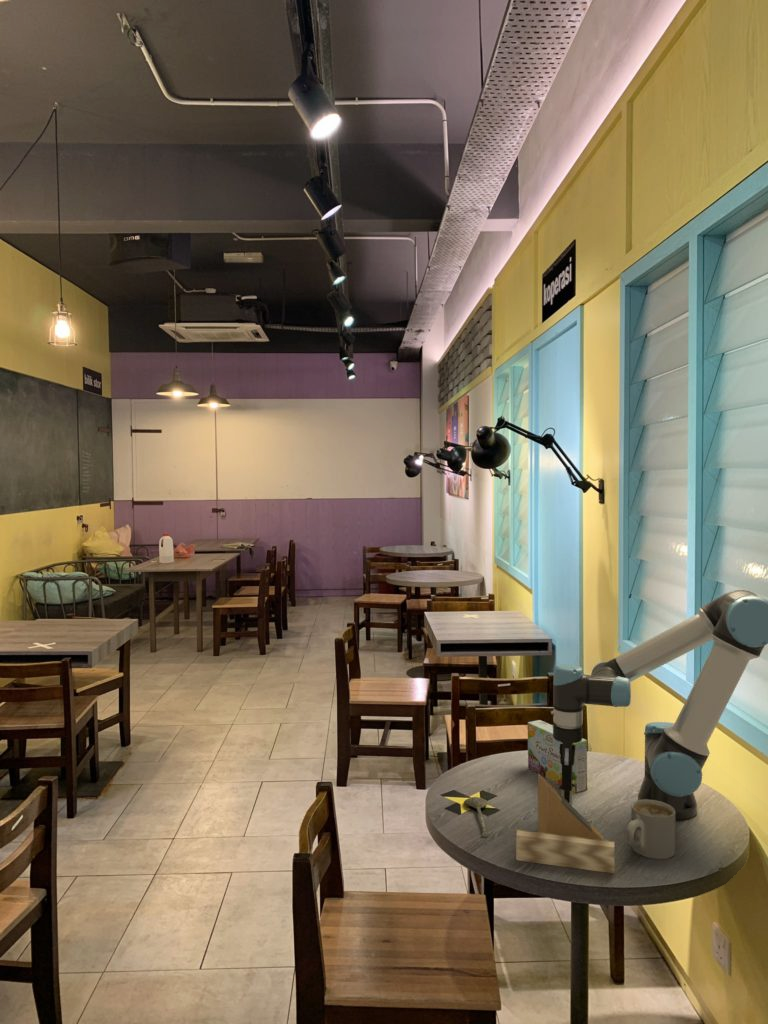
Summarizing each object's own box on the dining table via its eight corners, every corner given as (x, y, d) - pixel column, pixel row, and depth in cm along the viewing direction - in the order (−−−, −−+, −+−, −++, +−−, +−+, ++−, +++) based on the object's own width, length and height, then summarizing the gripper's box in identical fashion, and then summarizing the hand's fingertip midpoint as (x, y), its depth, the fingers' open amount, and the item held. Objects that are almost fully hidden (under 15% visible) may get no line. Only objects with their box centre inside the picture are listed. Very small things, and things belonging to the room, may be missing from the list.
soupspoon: (486, 803, 203) (463, 804, 203) (485, 791, 203) (462, 792, 203) (497, 838, 181) (471, 839, 181) (497, 824, 181) (470, 826, 181)
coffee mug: (656, 836, 181) (656, 797, 180) (684, 855, 171) (684, 814, 171) (611, 844, 177) (611, 804, 176) (636, 864, 167) (636, 821, 167)
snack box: (526, 769, 225) (526, 721, 224) (540, 766, 227) (540, 719, 227) (574, 794, 206) (574, 742, 206) (588, 790, 209) (588, 739, 208)
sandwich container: (608, 844, 177) (608, 784, 176) (547, 847, 176) (547, 786, 175) (596, 828, 185) (596, 771, 185) (537, 830, 184) (537, 772, 184)
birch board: (614, 866, 166) (614, 841, 166) (615, 873, 163) (615, 847, 163) (516, 853, 172) (516, 829, 172) (515, 859, 169) (515, 834, 169)
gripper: (554, 715, 198) (553, 800, 198) (551, 730, 185) (550, 821, 186) (582, 718, 195) (582, 804, 196) (581, 733, 183) (580, 825, 184)
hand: (566, 812), depth 191 cm, fingers closed
